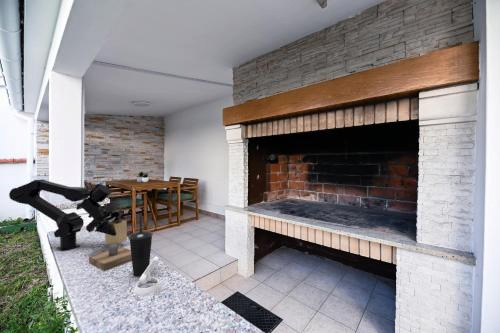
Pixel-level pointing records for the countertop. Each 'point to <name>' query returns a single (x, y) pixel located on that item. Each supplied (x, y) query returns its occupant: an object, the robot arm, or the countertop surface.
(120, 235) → the collar
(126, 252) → the post stand
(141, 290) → the hook
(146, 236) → the drinking cup
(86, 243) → the countertop surface
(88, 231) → the robot arm
